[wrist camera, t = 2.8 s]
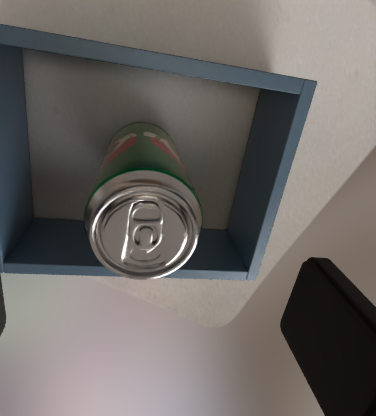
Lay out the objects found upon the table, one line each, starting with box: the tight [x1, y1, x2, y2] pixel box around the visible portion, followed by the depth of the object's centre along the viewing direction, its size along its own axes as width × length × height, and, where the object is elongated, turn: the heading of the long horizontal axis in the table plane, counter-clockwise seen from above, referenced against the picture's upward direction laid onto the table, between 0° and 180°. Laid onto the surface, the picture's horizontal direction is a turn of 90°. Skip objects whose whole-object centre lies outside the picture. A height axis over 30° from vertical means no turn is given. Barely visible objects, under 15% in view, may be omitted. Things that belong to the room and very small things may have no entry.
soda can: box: [84, 123, 203, 280], centre depth 17 cm, size 5×5×12 cm
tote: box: [0, 24, 317, 281], centre depth 20 cm, size 18×14×6 cm
